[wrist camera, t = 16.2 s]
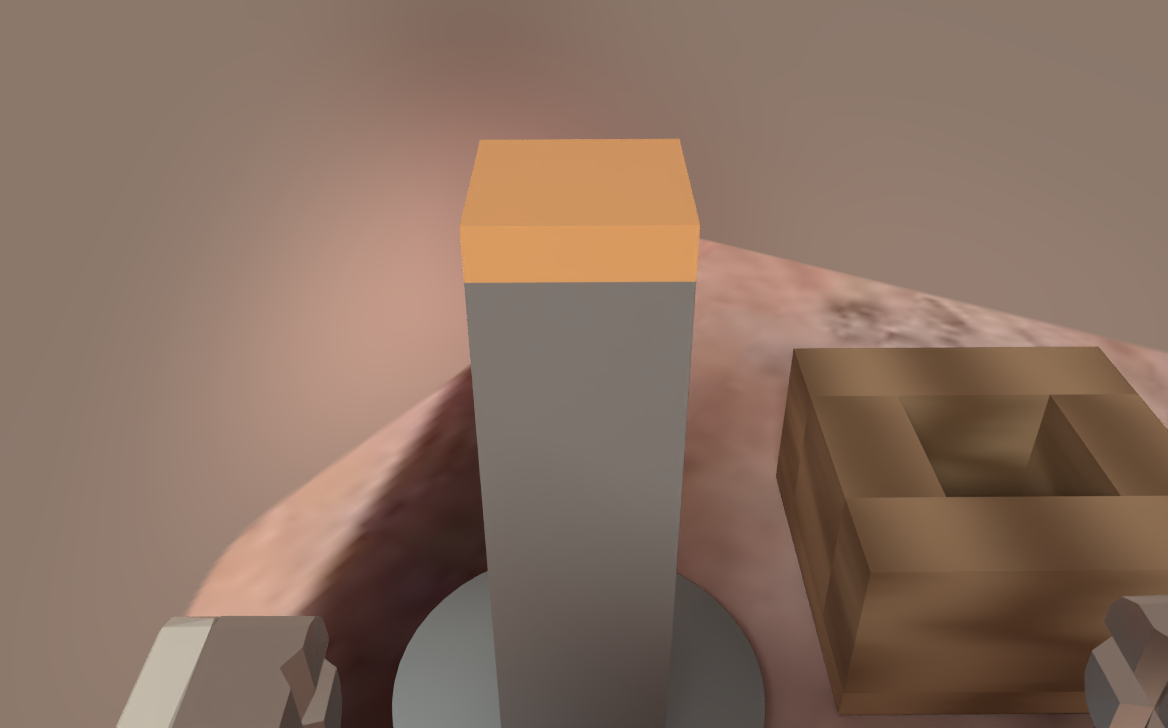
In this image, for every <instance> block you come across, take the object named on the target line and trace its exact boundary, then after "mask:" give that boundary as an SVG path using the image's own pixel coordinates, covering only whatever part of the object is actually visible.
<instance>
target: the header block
mask: <svg viewBox="0 0 1168 728" xmlns="http://www.w3.org/2000/svg"><path fill="white" fill-rule="evenodd" d="M776 478H777V482H778V486H779V489H780V493H781V497H782V501H783V505H784V508H785V512H786V516H787V520H788V524H789V527H790V531H791V535H792V539H793V543H794V546H795V550H796V554H797V558H798V562H799V565H800V569H801V573H802V577H803V581H804V585H805V588H806V592H807V596H808V600H809V604H810V607H811V611H812V615H813V619H814V623H815V626H816V630H817V634H818V638H819V642H820V645H821V649H822V653H823V657H824V661H825V664H826V668H827V672H828V676H829V680H830V683H831V687H832V691H833V695H834V699H835V702H836V706H837V710H838V714H839V715H875V714H1016V713H1090V712H1089V709H1088V706H1087V702H1086V699H1085V677H1084V672H1085V669H1086V666H1087V664H1088V661H1089V658H1090V655H1091V652H1092V650H1093V649H1095V648H1096V647H1098V646H1099V645H1100V644H1102V643H1103V642H1105V641H1106V640H1107V639H1109V638H1110V637H1111V636H1112V635H1111V633H1110V631H1109V630H1108V628H1107V626H1106V624H1105V623H1104V620H1105V618H1106V615H1107V613H1108V611H1109V608H1110V606H1111V604H1112V603H1114V602H1115V601H1116V600H1118V599H1119V598H1120V597H1122V596H1146V595H1168V430H1167V428H1166V427H1165V426H1164V425H1163V424H1162V422H1161V421H1160V420H1159V419H1158V418H1157V416H1156V415H1155V414H1154V413H1153V412H1152V410H1151V409H1150V408H1149V407H1148V406H1147V404H1146V403H1145V402H1144V401H1143V400H1142V398H1141V397H1140V396H1139V395H1138V394H1137V392H1136V391H1135V390H1134V389H1133V388H1132V386H1131V385H1130V384H1129V383H1128V382H1127V380H1126V379H1125V378H1124V377H1123V376H1122V374H1121V373H1120V372H1119V371H1118V370H1117V368H1116V367H1115V366H1114V365H1113V364H1112V362H1111V361H1110V360H1109V359H1108V358H1107V356H1106V355H1105V354H1104V353H1103V352H1102V350H1101V349H1100V348H1099V347H974V348H817V349H794V350H793V357H792V365H791V372H790V379H789V387H788V394H787V401H786V408H785V416H784V423H783V430H782V437H781V445H780V452H779V459H778V466H777V474H776Z"/></svg>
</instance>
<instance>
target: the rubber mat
mask: <svg viewBox="0 0 1168 728" xmlns="http://www.w3.org/2000/svg"><path fill="white" fill-rule="evenodd" d="M392 711H393V727H394V728H501V721H500V709H499V697H498V684H497V672H496V660H495V648H494V636H493V624H492V612H491V600H490V588H489V576H488V571H487V572H485V573H482V574H480V575H478V576H477V577H475V578H473V579H472V580H470V581H469V582H467V583H465V584H464V585H462V586H461V587H459V588H458V589H457V590H455V591H454V592H453V593H451V594H450V595H449V596H447V597H446V598H445V599H444V600H443V601H442V602H441V603H440V604H439V605H438V606H437V607H436V608H435V609H434V610H433V611H432V612H431V613H430V614H429V615H428V616H427V618H426V619H425V620H424V621H423V623H422V624H421V625H420V626H419V628H418V629H417V631H416V632H415V634H414V636H413V637H412V639H411V641H410V642H409V644H408V646H407V648H406V650H405V653H404V655H403V657H402V659H401V662H400V664H399V668H398V672H397V675H396V679H395V683H394V691H393V700H392ZM764 721H765V693H764V684H763V678H762V675H761V671H760V667H759V664H758V660H757V658H756V656H755V654H754V651H753V649H752V647H751V644H750V642H749V641H748V639H747V637H746V636H745V634H744V633H743V631H742V629H741V628H740V626H739V625H738V624H737V622H736V621H735V620H734V619H733V617H732V616H731V615H730V614H729V613H728V611H727V610H726V609H725V608H724V607H723V606H722V605H721V604H720V603H719V602H717V601H716V600H715V599H714V598H713V597H712V596H711V595H710V594H708V593H707V592H706V591H704V590H703V589H702V588H700V587H699V586H698V585H696V584H695V583H693V582H691V581H690V580H688V579H686V578H685V577H683V576H681V575H680V574H678V573H676V585H675V600H674V615H673V629H672V644H671V659H670V673H669V688H668V703H667V717H666V728H764Z"/></svg>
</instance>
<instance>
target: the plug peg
mask: <svg viewBox="0 0 1168 728" xmlns="http://www.w3.org/2000/svg"><path fill="white" fill-rule="evenodd" d="M699 232H700V223H699V219H698V215H697V210H696V206H695V202H694V198H693V194H692V190H691V185H690V181H689V177H688V173H687V169H686V164H685V160H684V156H683V152H682V148H681V143H680V139H579V140H578V139H568V140H566V139H564V140H563V139H562V140H480V143H479V147H478V151H477V156H476V160H475V164H474V169H473V172H472V177H471V181H470V185H469V189H468V193H467V198H466V202H465V206H464V210H463V215H462V218H461V223H460V238H461V249H462V262H463V274H464V286H465V297H466V310H467V322H468V334H469V346H470V358H471V371H472V383H473V395H474V407H475V419H476V431H477V443H478V455H479V467H480V479H481V491H482V503H483V515H484V528H485V540H486V552H487V564H488V576H489V588H490V600H491V612H492V624H493V636H494V648H495V660H496V672H497V684H498V697H499V709H500V721H501V728H666V717H667V703H668V688H669V673H670V659H671V644H672V629H673V615H674V600H675V585H676V571H677V556H678V541H679V526H680V512H681V497H682V482H683V468H684V453H685V438H686V424H687V409H688V394H689V380H690V365H691V350H692V335H693V321H694V306H695V291H696V277H697V262H698V247H699Z"/></svg>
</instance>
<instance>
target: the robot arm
mask: <svg viewBox="0 0 1168 728" xmlns="http://www.w3.org/2000/svg"><path fill="white" fill-rule="evenodd" d="M1104 623H1105V624H1106V626H1107V628H1108V630H1109V631H1110V633H1111V635H1112V636H1111V637H1110V638H1109V639H1107V640H1106V641H1105V642H1103V643H1102V644H1100V645H1099V646H1098V647H1096V648H1095V649H1093V650H1092V652H1091V655H1090V658H1089V661H1088V664H1087V666H1086V669H1085V672H1084V677H1085V699H1086V702H1087V706H1088V709H1089V712H1090V716H1091V719H1092V721H1093V724H1094V726H1095V728H1168V595H1146V596H1122V597H1120V598H1119V599H1118V600H1116V601H1115V602H1114V603H1112V604H1111V606H1110V608H1109V611H1108V613H1107V615H1106V618H1105V620H1104ZM328 641H329V638H328V634H327V631H326V628H325V625H324V621H323V618H321V617H316V616H221V617H172V618H171V619H170V620H169V621H168V622H167V623H166V624H165V626H164V627H163V628H162V629H161V630H160V632H159V634H158V636H157V638H156V640H155V642H154V645H153V647H152V649H151V651H150V653H149V655H148V658H147V660H146V662H145V664H144V666H143V669H142V671H141V673H140V675H139V677H138V680H137V682H136V684H135V686H134V689H133V691H132V693H131V695H130V697H129V699H128V702H127V704H126V706H125V708H124V710H123V712H122V715H121V717H120V719H119V721H118V723H117V726H116V728H340V722H341V709H342V700H341V687H340V681H339V676H338V672H337V668H336V667H335V666H334V665H332V664H331V663H330V662H328V661H327V660H326V659H324V657H325V653H326V649H327V645H328Z"/></svg>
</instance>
